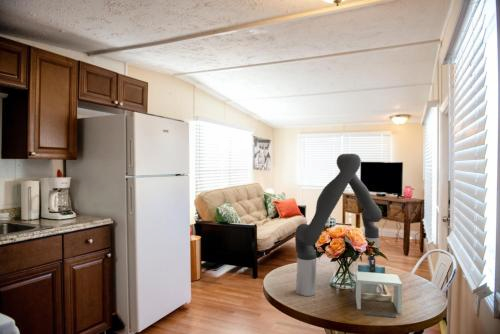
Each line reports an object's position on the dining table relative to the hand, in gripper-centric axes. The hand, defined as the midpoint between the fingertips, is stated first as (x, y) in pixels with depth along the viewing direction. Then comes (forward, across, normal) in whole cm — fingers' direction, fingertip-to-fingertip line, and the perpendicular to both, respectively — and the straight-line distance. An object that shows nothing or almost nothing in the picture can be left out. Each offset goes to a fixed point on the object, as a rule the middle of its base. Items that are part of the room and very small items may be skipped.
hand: (371, 276), depth 180 cm
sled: (+4, +11, 0) cm, 12 cm away
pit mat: (+4, +39, 0) cm, 39 cm away
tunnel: (+4, +29, 0) cm, 29 cm away
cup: (+4, +18, -1) cm, 19 cm away
